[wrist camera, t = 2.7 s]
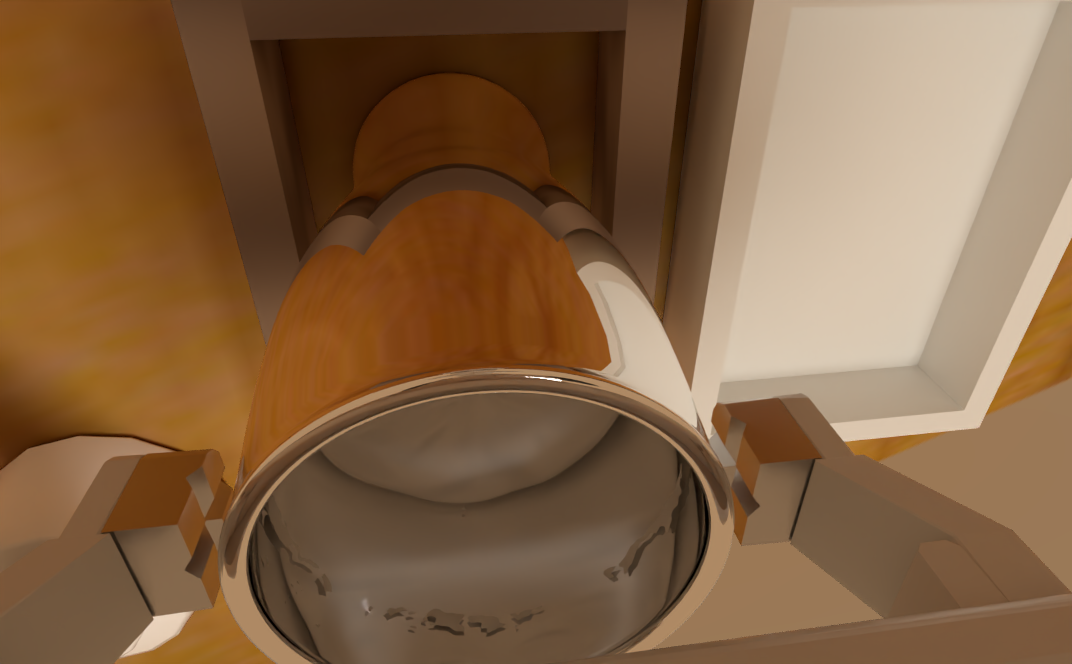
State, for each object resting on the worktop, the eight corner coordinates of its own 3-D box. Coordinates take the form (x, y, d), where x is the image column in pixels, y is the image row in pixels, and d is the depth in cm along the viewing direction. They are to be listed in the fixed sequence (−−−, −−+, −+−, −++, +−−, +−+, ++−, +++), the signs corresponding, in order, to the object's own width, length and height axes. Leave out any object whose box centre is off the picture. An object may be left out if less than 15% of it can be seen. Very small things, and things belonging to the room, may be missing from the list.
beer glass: (294, 189, 21) (90, 639, 8) (429, -1, 18) (432, 225, 6) (471, 305, 24) (518, 757, 11) (605, 155, 21) (854, 518, 9)
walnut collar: (200, -43, 17) (161, -33, 14) (656, -49, 18) (692, -40, 16) (295, 344, 24) (280, 397, 21) (624, 318, 25) (646, 365, 22)
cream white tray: (708, -50, 18) (760, -40, 16) (1094, -55, 20) (1209, -46, 17) (653, 398, 27) (680, 457, 24) (923, 373, 29) (978, 427, 26)
